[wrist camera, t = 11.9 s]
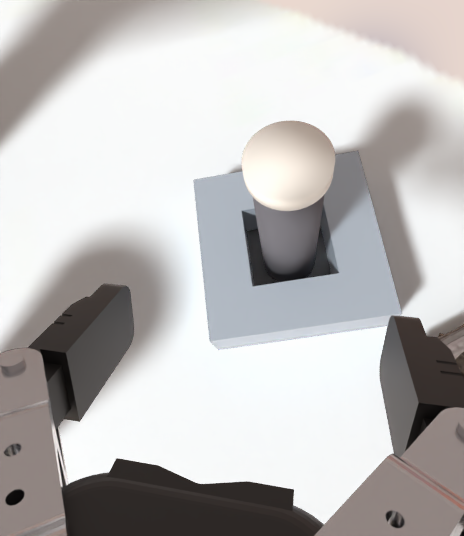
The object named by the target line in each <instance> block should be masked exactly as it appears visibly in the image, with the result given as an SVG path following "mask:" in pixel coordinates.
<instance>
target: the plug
mask: <svg viewBox="0 0 464 536" xmlns="http://www.w3.org/2000/svg"><path fill="white" fill-rule="evenodd" d="M241 163H242V171H243V176H244V181H245V185H246V187H247V189H248V191H249V193H250V194H251V195H252V197H253V202H254V208H255V214H256V220H257V226H258V231H259V237H260V243H261V249H262V255H263V260H264V266H265V269H266V271H267V273H268V274H269V275H270V276H271V277H272V278H273V279H274V280H276V281H278V282H285V281H292V280H298V279H304V278H307V277H308V276H309V275H310V273H311V272H312V270H313V267H314V263H315V256H316V249H317V243H318V236H319V229H320V222H321V215H322V209H323V202H324V195H325V193H326V192H327V190H328V189H329V187H330V185H331V182H332V178H333V172H334V166H335V151H334V148H333V145H332V143H331V141H330V140H329V138H328V137H327V136H326V135H325V134H324V133H323V132H322V131H321V130H319V129H318V128H316V127H315V126H312V125H310V124H307V123H304V122H299V121H281V122H277V123H273V124H270V125H268V126H266V127H264V128H262V129H261V130H259V131H258V132H257V133H255V134H254V135H253V136H252V137H251V139H250V140H249V141H248V143H247V144H246V146H245V148H244V151H243V154H242V162H241Z"/></svg>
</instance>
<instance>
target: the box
mask: <svg viewBox="0 0 464 536" xmlns="http://www.w3.org/2000/svg"><path fill="white" fill-rule="evenodd" d="M438 338H439V339H440V340H441V341H442V342H443V343H444V344H445V345H446V346H447V347H448V348H450V349H451V351H452V353H453V356H454V358H455V360H456V362H457V365H458V367H459V369H460V371H461V373H462V374H461V376H463V378H464V325H462V326H460V327H458V328H457V329H455V330H453V331H451V332H449V333H447V334H441V333H439V336H438Z"/></svg>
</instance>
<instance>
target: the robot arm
mask: <svg viewBox="0 0 464 536" xmlns="http://www.w3.org/2000/svg"><path fill="white" fill-rule="evenodd" d="M133 335H134V323H133V313H132V304H131V294H130V290H129V288H128V287H127V286H122V285H113V284H103V285H101V286H100V287H99V288H98V290H97V291H96V292H95V293H94V294H93V295H92V296H91V297H85V298H83V299H81V300H79V301H77V302H76V303H74V304H72V305H71V306H70V307H69V308H68V309H67V310H66V311H65V312H64V313H63V314H62V316H60V317H59V318H58V319H57V320H55V321H54V324H51V325H50V326H49V327H48V328H47V329H46V330H45V331H44V332H43V333H42V334H41V335H40V336H39V337H38V338H37V339H36V340H35V341H34V342H33V343H32V344H31V345H30V346H29V347H28V348H17V349H12V350H9V351H6V352H3V353H1V354H0V536H464V378H463V376H461V374H462V373H461V371H460V369H459V367H458V365H457V362H456V360H455V358H454V356H453V353H452V351H451V349H450V348H448V347H447V346H446V345H445V344H444V343H443V342H442V341H441V340H440V339H439V338H437V337H428V336H426V333H425V331H424V328H423V326H422V323H421V321H420V319H419V318H413V317H404V316H395V315H392V316H391V317H390V319H389V322H388V327H387V332H386V336H385V341H384V346H383V350H382V355H381V360H380V382H381V387H382V392H383V398H384V403H385V408H386V414H387V419H388V424H389V429H390V435H391V440H392V445H393V450H394V454H391V455H389V456H388V457H387V458H386V459H385V460H384V461H383V462H382V463H381V464H380V465H379V466H378V467H377V468H376V469H375V470H374V472H373V473H372V474H371V475H370V476H369V477H368V478H367V479H366V480H365V481H364V482H363V483H362V485H361V486H360V487H359V488H358V489H357V490H356V491H355V492H354V493H353V494H352V495H351V496H350V497H349V499H348V500H347V501H346V502H345V503H344V504H343V505H342V506H341V507H340V508H339V509H338V510H337V512H336V513H335V514H334V515H333V516H332V517H331V518H330V519H329V520H328V521H327V522H326V523H325V525H324V524H323V523H322V522H320V521H319V520H318V519H316V518H315V517H314V516H312V515H311V514H309V513H307V512H306V511H304V510H302V509H300V508H298V507H296V506H294V505H293V496H294V490H293V489H287V488H281V487H276V486H270V485H265V484H259V483H253V482H233V483H216V484H198V483H195V482H193V481H190V480H188V479H186V478H184V477H182V476H179V475H177V474H175V473H173V472H171V471H169V470H166V469H164V468H162V467H160V466H157V465H151V464H146V463H140V462H134V461H129V460H123V459H118V458H117V459H116V461H115V462H114V464H113V466H112V468H111V470H110V472H109V473H102V474H97V475H92V476H89V477H85V478H82V479H79V480H77V481H74V482H72V483H70V484H69V483H68V478H67V472H66V466H65V460H64V454H63V448H62V443H61V437H60V432H59V427H58V426H59V425H60V423H61V422H62V420H63V419H67V420H73V421H79V422H80V420H81V419H82V417H83V416H84V414H85V413H86V411H87V410H88V408H89V407H90V405H91V404H92V402H93V401H94V399H95V398H96V396H97V395H98V393H99V392H100V390H101V389H102V387H103V386H104V384H105V383H106V381H107V380H108V378H109V377H110V375H111V374H112V372H113V371H114V369H115V368H116V366H117V365H118V363H119V362H120V360H121V359H122V357H123V356H124V354H125V353H126V351H127V350H128V348H129V347H130V345H131V342H132V339H133Z"/></svg>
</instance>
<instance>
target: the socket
mask: <svg viewBox="0 0 464 536" xmlns="http://www.w3.org/2000/svg"><path fill="white" fill-rule="evenodd" d="M194 190H195V200H196V210H197V220H198V230H199V239H200V249H201V259H202V269H203V279H204V289H205V299H206V309H207V319H208V329H209V339H210V342H211V343H212V344H213V345H214V346H215V347H216V348H217V349H218V350H221V349H228V348H235V347H242V346H249V345H256V344H263V343H270V342H277V341H284V340H291V339H298V338H305V337H312V336H319V335H325V334H332V333H339V332H346V331H353V330H360V329H367V328H374V327H381V326H388V322H389V319H390V317H391V316H392V315H395V316H400V315H401V314H402V311H401V308H400V304H399V300H398V296H397V293H396V289H395V285H394V282H393V278H392V274H391V271H390V267H389V263H388V259H387V256H386V252H385V248H384V245H383V241H382V237H381V234H380V230H379V226H378V222H377V219H376V215H375V211H374V208H373V204H372V200H371V197H370V193H369V189H368V186H367V182H366V178H365V174H364V171H363V167H362V163H361V160H360V156H359V152H358V151H353V152H348V153H342V154H336V155H335V166H334V172H333V178H332V182H331V185H330V187H329V189H328V190H327V192H326V193H325V195H324V202H323V209H322V215H321V222H320V226H321V230H322V235H323V240H324V244H325V249H326V254H327V258H328V263H329V267H330V272H331V274H330V275H324V276H317V277H311V278H304V279H298V280H292V281H285V282H279V283H272V284H266V285H259V286H254V281H253V274H252V267H251V260H250V253H249V246H248V239H247V233H246V231H250V230H256V229H258V226H257V220H256V214H255V208H254V202H253V197H252V195H251V194H250V193H249V191H248V189H247V187H246V185H245V181H244V176H243V171H241V172H235V173H229V174H224V175H218V176H213V177H207V178H201V179H196V180H194Z"/></svg>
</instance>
